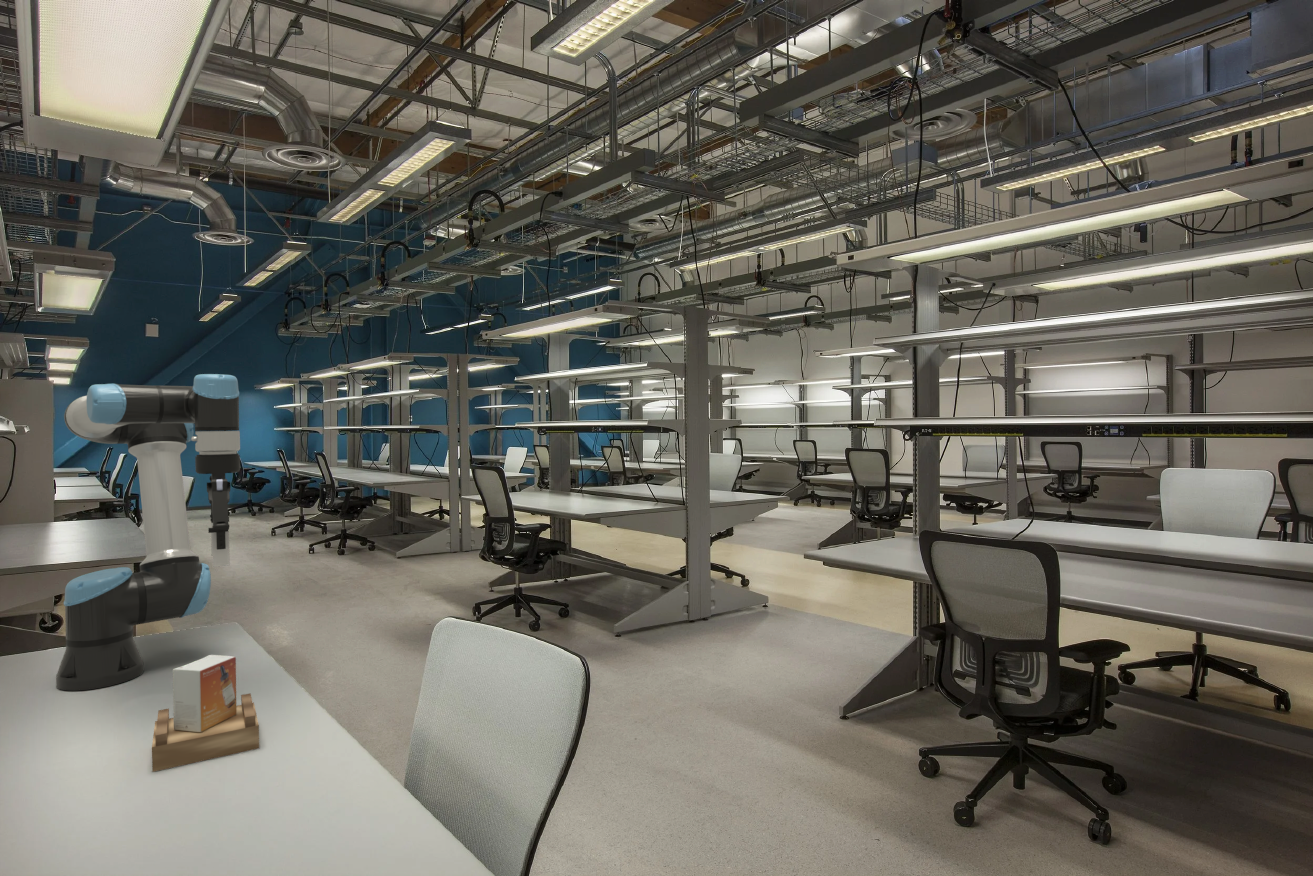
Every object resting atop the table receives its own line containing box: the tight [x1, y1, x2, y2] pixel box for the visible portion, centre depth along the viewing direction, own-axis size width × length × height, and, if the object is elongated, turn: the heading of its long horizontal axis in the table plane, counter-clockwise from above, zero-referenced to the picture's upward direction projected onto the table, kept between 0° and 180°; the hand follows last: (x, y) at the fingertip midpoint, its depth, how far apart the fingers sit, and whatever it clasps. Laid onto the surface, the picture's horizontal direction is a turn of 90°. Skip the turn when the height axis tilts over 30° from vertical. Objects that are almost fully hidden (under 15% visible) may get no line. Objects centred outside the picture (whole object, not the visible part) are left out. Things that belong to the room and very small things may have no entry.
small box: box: [172, 654, 237, 732], centre depth 124 cm, size 8×6×10 cm
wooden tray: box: [151, 693, 260, 773], centre depth 124 cm, size 12×15×6 cm
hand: (220, 560), depth 142 cm, fingers open, 13 cm apart
